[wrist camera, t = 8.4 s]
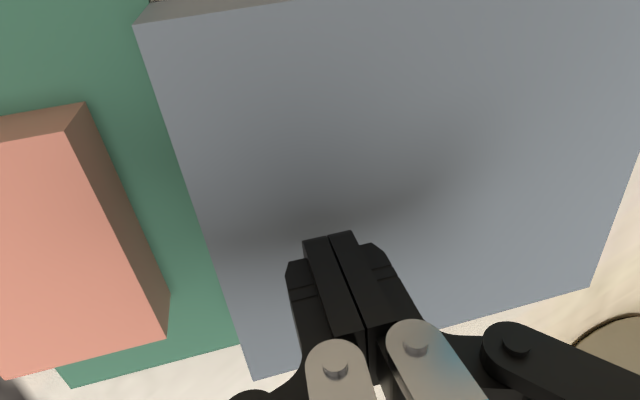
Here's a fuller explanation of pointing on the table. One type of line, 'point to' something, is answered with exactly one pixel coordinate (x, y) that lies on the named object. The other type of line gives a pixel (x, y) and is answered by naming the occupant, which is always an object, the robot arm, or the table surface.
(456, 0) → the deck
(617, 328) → the travel mug
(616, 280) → the table surface
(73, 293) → the pink slab
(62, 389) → the table surface
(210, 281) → the mat
